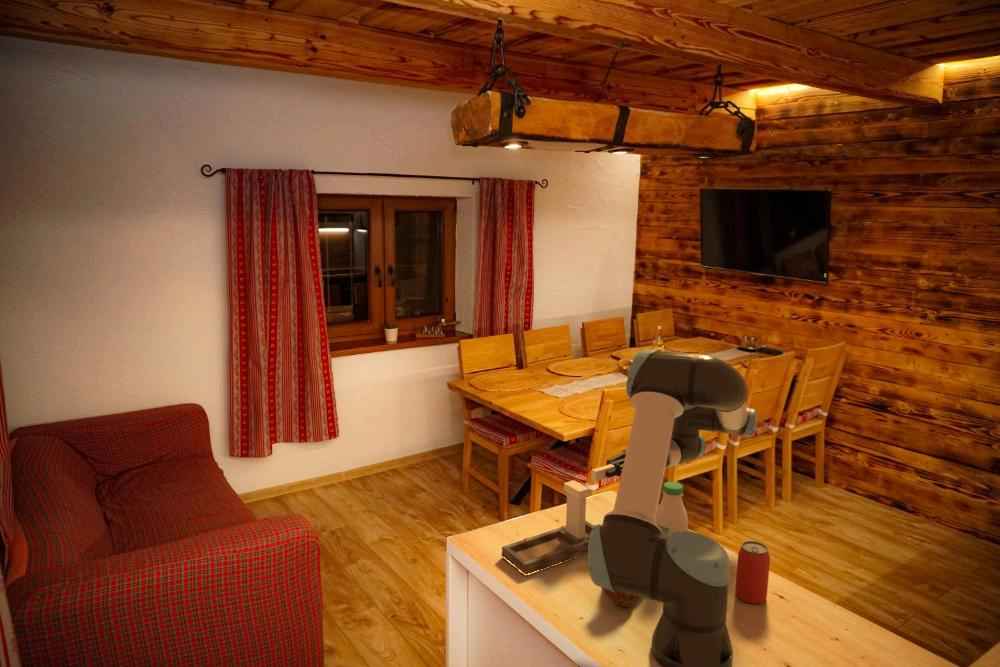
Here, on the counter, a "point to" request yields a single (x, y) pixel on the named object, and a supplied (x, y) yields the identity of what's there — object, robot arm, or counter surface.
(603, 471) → the robot arm
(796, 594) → the counter surface
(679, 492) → the milk bottle
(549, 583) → the counter surface
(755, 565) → the beer can
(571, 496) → the fader knob
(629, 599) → the stuffed squirrel
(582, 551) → the fader rail
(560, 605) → the counter surface
